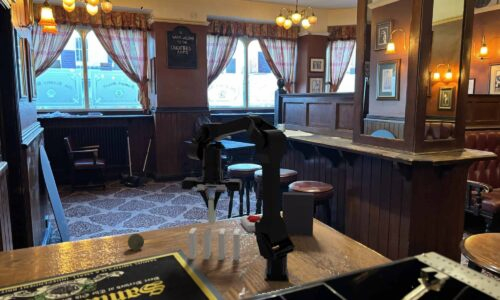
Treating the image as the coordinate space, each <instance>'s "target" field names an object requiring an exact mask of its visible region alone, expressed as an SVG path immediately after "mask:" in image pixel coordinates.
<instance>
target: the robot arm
mask: <svg viewBox="0 0 500 300" xmlns="http://www.w3.org/2000/svg"><path fill="white" fill-rule="evenodd" d="M243 132H247V137H248V139H249V140H250V141H251V142H252V143H253V145H254V147H255V154H256V155H257V157H258V159H259V161H260V163H261V197H262V198H261V201H262V203H261V204H262V210H261V211H262V214H261V216H260V217H261V219H260V220H257V221H255V232H254V234H253V235H254V237H255V241H256V243H257V244H256V245H257V248H258V252H259V256H261V257H262V258H263V259H264V260H266V261H265V262H266V263H265V265H266V266H265V268H264V281H282V282H283V281H285V282H287V281H290V275H289V269H288V254H290V253H294V251H295V248H296V245H295V243H294V242H293V240H292V238H291V237H290V235H288V234H287V229H286V223H285V222H284V220H283V218H282V213H281V211H282V210H281V162H282V160H283V159H284V156H285V154H286V149H287V143H288V140H287V135H286V134H285V133H284V132H283V130H281V129H279V128H277V127H276V126H275V125H273V124H272V123H270V122H268V121H267V120H265V119H264V118H263V117H262V116H260V115H258V114H249V115H248V114H247V115H245V116H242V117H239V118H236V119H231V120H228V121H225V122H209V123H208V122H206V123H205V122H204V123H202V124H201V125H200V128H199V129H198V131H197V133H196V136H195V138H191V139H190V143H188V145H187V147H186V149H185V152H186V155H187V157H188V159H193V160H196V161H197V160H198V161H202V168H201V176H202V180H198V178H197V177H191V176H190V177H188V176H187V177H185V178H184V179H183V180H182V181H181V184H180V185H181V187H180V188H181V189H180V190H187V191H188V190H192V189H193V188H194V187H197V190H196V192H197V193H199V194H200V196H201V197H202V199H203V202H204V204H205V206H206V209H207V210H208V200H209V199H210V188H216V190H215V191H214V196H215V198H214V211H215V210H216V211H217V207H218V204H219V201H220V198H221V196H222V194H225V193H226V191H227V190H229V192H240V191H241V190H242V187H243V185H242V184H243V183H242V180H241V178H229V180H228V181H224V180H223V178H224V177H223V175H224V171H223V169H222V150H226V146H225V145H224V144H223V143H222V140H224V139H227V138H228V137H229V136H231V135H235V134H238V133H243Z"/></svg>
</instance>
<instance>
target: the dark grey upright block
mask: <svg viewBox="0 0 500 300" xmlns="http://www.w3.org/2000/svg"><path fill="white" fill-rule="evenodd" d="M314 207H315V196H314V192H294V191H293V192H292V191H291V192H289V191H288V192H287V191H286V192H285V191H284V192H282V210H281V211H282V213H281V217H282V218H283V220H284V222H285V223H286V229H287V234H288V235H289V236H303V237H305V236H306V237H307V236H309V237H310V236H311V237H313V236H314V213H315V212H314Z"/></svg>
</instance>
